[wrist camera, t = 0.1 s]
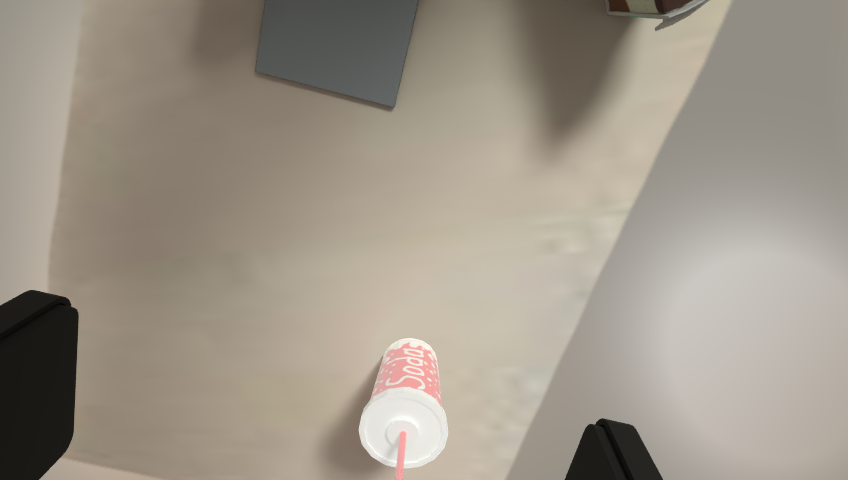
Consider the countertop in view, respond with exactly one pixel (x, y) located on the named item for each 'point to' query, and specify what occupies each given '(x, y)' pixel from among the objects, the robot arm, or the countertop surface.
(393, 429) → the beverage cup
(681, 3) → the food container
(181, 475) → the countertop surface
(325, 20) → the charcoal mat
